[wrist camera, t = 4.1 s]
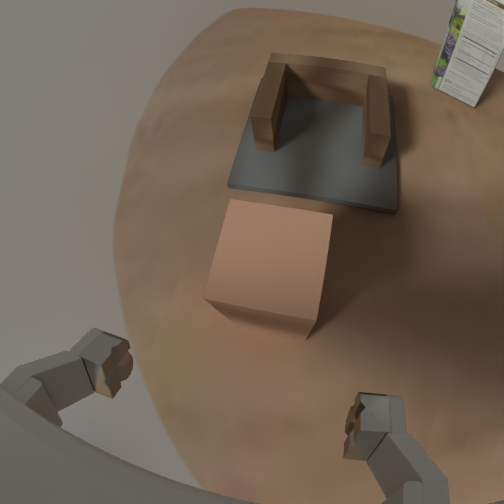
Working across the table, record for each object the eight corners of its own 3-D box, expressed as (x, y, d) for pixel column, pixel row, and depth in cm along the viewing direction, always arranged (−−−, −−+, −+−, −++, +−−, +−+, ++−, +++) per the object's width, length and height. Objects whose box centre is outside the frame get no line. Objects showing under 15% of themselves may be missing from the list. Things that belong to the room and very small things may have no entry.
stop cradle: (391, 100, 27) (400, 65, 22) (394, 214, 22) (413, 181, 18) (262, 82, 29) (257, 46, 25) (228, 187, 25) (216, 151, 21)
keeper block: (317, 275, 22) (333, 214, 13) (305, 340, 20) (316, 320, 12) (253, 264, 22) (230, 199, 14) (238, 327, 21) (203, 298, 13)
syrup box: (434, 64, 29) (461, -33, 15) (477, 85, 27) (513, -7, 13) (429, 87, 27) (462, -23, 14) (476, 110, 26) (522, 8, 12)
